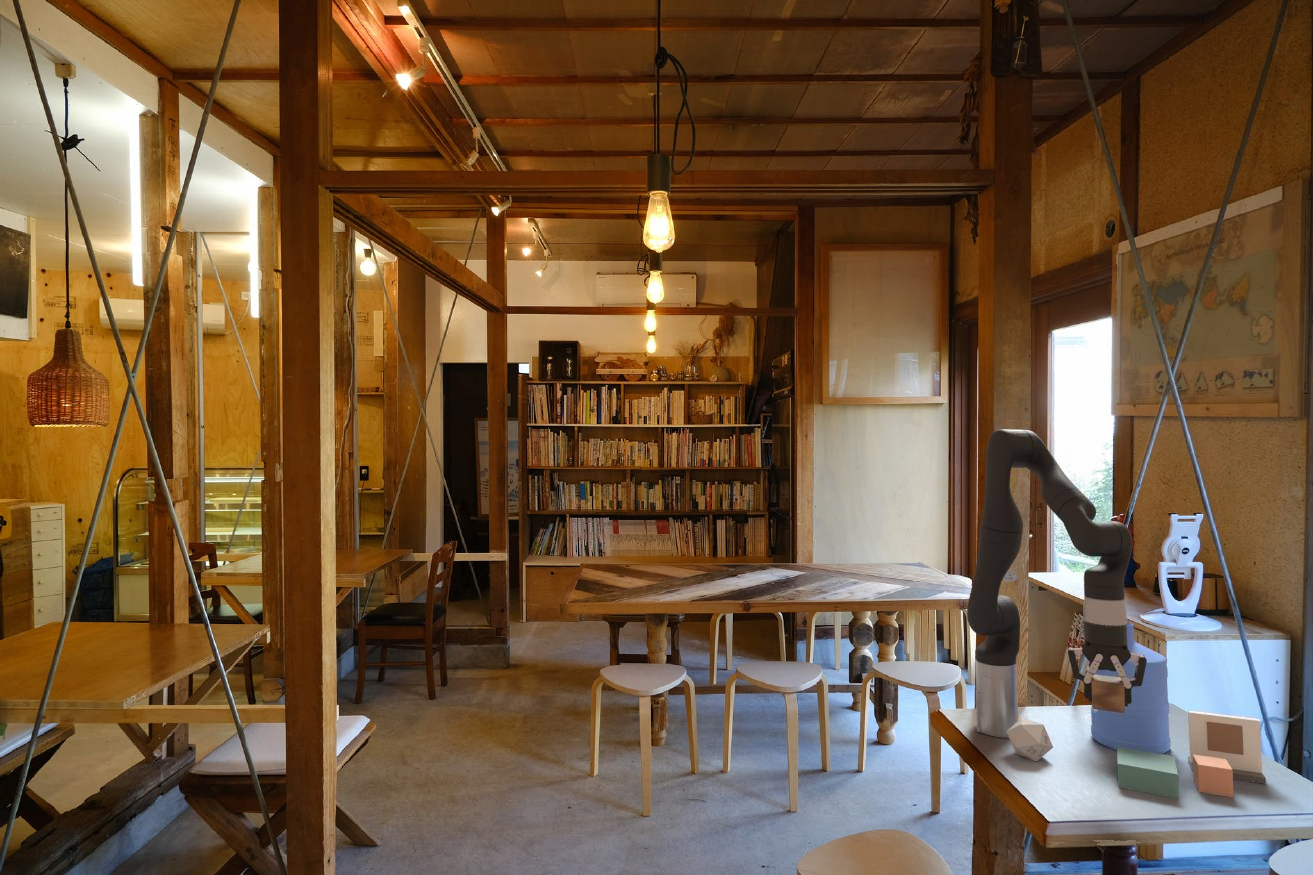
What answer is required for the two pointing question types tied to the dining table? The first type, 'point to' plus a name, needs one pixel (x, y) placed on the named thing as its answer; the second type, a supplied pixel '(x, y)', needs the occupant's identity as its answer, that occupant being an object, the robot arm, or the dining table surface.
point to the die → (1029, 739)
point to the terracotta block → (1213, 775)
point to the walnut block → (1108, 693)
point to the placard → (1228, 742)
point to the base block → (1147, 772)
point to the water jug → (1138, 707)
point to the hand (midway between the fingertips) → (1107, 702)
